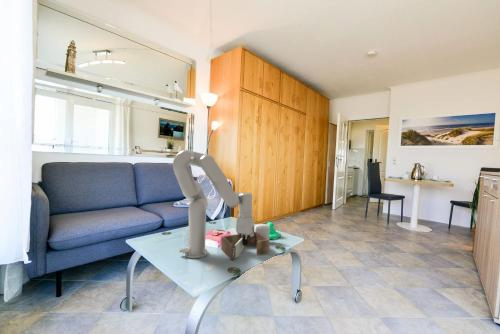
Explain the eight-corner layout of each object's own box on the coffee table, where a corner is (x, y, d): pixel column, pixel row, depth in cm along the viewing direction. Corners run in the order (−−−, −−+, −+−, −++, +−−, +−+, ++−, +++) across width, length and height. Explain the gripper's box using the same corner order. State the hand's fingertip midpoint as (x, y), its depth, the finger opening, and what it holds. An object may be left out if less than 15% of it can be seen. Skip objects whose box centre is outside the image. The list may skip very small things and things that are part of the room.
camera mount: (268, 240, 149) (269, 226, 149) (261, 237, 156) (262, 223, 155) (281, 237, 156) (282, 223, 156) (274, 234, 162) (275, 220, 162)
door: (237, 259, 118) (237, 246, 118) (233, 259, 119) (233, 245, 118) (245, 249, 132) (245, 237, 132) (241, 248, 132) (242, 236, 132)
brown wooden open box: (231, 260, 118) (232, 246, 117) (221, 249, 132) (221, 236, 131) (268, 253, 129) (269, 239, 129) (255, 243, 143) (255, 231, 143)
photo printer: (268, 241, 148) (269, 223, 148) (269, 243, 144) (270, 225, 144) (253, 241, 147) (254, 223, 147) (254, 243, 143) (255, 225, 142)
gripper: (231, 213, 127) (230, 244, 127) (253, 217, 119) (253, 250, 120) (238, 211, 133) (237, 240, 134) (259, 214, 126) (259, 245, 127)
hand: (245, 244), depth 127 cm, fingers closed
